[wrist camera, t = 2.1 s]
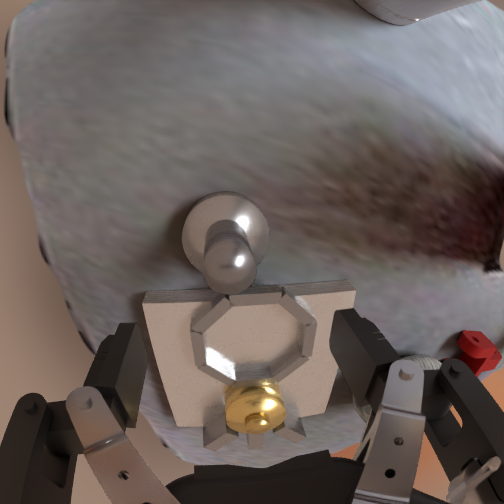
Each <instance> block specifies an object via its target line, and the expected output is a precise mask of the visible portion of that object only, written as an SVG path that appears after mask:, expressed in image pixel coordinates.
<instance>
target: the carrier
mask: <svg viewBox="0 0 504 504" xmlns="http://www.w3.org/2000/svg"><path fill="white" fill-rule="evenodd" d="M355 294H356V289H355V288H354V287H353V286H352V285H351V284H350V282H349V281H348V280H339V281H327V282H315V283H302V284H288V285H263V286H249V287H248V288H247V289H246V290H244V291H242V292H240V293H237V294H222V293H218V292H216V291H214V290H213V289H197V290H169V291H147V292H146V294H145V297H144V300H143V303H142V305H143V310H144V314H145V319H146V323H147V327H148V331H149V335H150V339H151V343H152V347H153V351H154V354H155V358H156V362H157V365H158V369H159V372H160V376H161V379H162V382H163V385H164V389H165V392H166V395H167V398H168V401H169V404H170V407H171V410H172V413H173V416H174V418H175V421H176V424H177V426H187V427H190V426H204V427H203V446H204V448H207V449H210V450H213V451H216V450H218V449H219V448H221V447H223V446H224V445H226V444H228V443H229V442H231V441H233V440H234V439H236V438H237V437H239V435H238V432H241V433H246V434H247V441H248V447H249V449H259V448H263V434H264V433H265V432H267V431H269V430H271V429H273V433H274V434H276V435H279V436H281V437H283V438H285V439H288V440H290V441H292V442H294V443H296V442H298V441H300V440H302V439H304V438H306V434H305V431H304V428H303V425H302V421H301V418H299V417H305V416H310V415H316V414H321V413H325V410H326V406H327V403H328V400H329V397H330V394H331V391H332V387H333V384H334V380H335V377H336V374H337V370H338V365H337V363H336V361H335V359H334V357H333V355H332V353H331V351H330V347H329V338H330V332H331V327H332V321H333V316H334V312H335V311H336V310H341V309H348V308H353V304H354V299H355Z"/></svg>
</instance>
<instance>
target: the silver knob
mask: <svg viewBox="0 0 504 504" xmlns="http://www.w3.org/2000/svg"><path fill="white" fill-rule="evenodd" d="M269 240H270V232H269V227H268V224H267V221H266V219H265V217H264V215H263V214H262V212H261V211H260V209H259V208H258V206H257V205H256V204H255V203H254V202H253V201H252V200H251V199H249V198H248V197H246V196H244V195H242V194H239V193H236V192H230V191H222V192H216V193H212V194H209V195H207V196H205V197H203V198H202V199H200V200H199V201H198V202H197V203H196V204H195V205H194V206H193V207H192V208H191V210H190V212H189V213H188V215H187V218H186V221H185V224H184V227H183V231H182V245H183V249H184V252H185V254H186V256H187V258H188V260H189V261H190V262H191V264H192V265H193V266H194V267H195V268H196V269H198V270H199V271H200V272H202V273H203V276H204V279H205V281H206V283H207V284H208V286H209V287H210V288H212V289H213V290H214V291H216V292H218V293H222V294H237V293H240V292H242V291H244V290H246V289H247V288H248V287H249V286H250V285H251V284H252V283H253V281H254V279H255V277H256V271H257V268H256V266H257V265H258V264H259V263H260V262H261V261H262V259H263V258H264V256H265V254H266V252H267V249H268V246H269Z"/></svg>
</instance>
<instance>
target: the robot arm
mask: <svg viewBox="0 0 504 504" xmlns="http://www.w3.org/2000/svg"><path fill="white" fill-rule="evenodd" d="M355 1H356V2H357V3H358V4H359V5H360V6H361V7H362V8H364V9H365V10H366V11H368V12H369V13H370V14H372V15H374V16H376V17H377V18H379V19H381V20H384V21H386V22H388V23H392V24H396V25H409V24H412V23H415V22H417V21H420V20H422V19H425V18H428V17H430V16H433V15H436V14H439V13H442V12H445V11H448V10H451V9H454V8H457V7H461V6H464V5H467V4H471V3H475V2H478V1H482V0H355ZM329 347H330V351H331V353H332V355H333V357H334V359H335V361H336V363H337V365H338V367H339V369H340V370H341V372H342V374H343V376H344V378H345V380H346V382H347V384H348V386H349V388H350V390H351V392H352V393H353V395H354V397H355V399H356V401H357V403H358V405H359V407H364V406H368V405H370V406H371V408H372V410H371V412H370V414H369V418H368V421H367V424H366V427H365V430H364V433H363V436H362V438H361V441H360V444H359V447H358V449H357V451H356V453H355V455H354V458H353V459H352V460H351V459H347V458H341V457H331V456H330V453H329V450H324V451H319V452H315V453H310V454H305V455H300V456H296V457H294V458H291V459H289V460H286V461H284V462H281V463H278V464H276V465H273V466H270V467H267V468H252V467H243V466H235V465H228V464H227V465H200V466H194V474H190V475H186V476H183V477H181V478H178V479H176V480H174V481H172V482H171V483H169V484H168V485H166V486H164V484H163V483H162V482H161V481H160V480H159V478H158V477H157V476H156V475H155V474H154V473H153V471H152V470H151V468H150V467H149V466H148V465H147V463H146V462H145V461H144V459H143V458H142V457H141V455H140V454H139V453H138V451H137V450H136V448H135V447H134V446H133V444H132V443H131V441H130V440H129V438H128V437H127V435H126V434H125V430H126V427H128V428H136V422H137V416H138V410H139V405H140V400H141V394H142V389H143V384H144V379H145V374H146V370H147V363H148V359H147V352H146V348H145V344H144V341H143V337H142V333H141V329H140V326H139V324H138V323H120V324H119V325H118V328H117V330H116V333H115V335H108V336H107V337H106V338H105V339H104V340H103V341H102V342H101V344H100V346H99V348H98V351H97V353H96V355H95V358H94V361H93V363H92V365H91V367H90V370H89V372H88V375H87V377H86V380H85V382H84V385H83V387H79V388H77V389H75V390H73V391H72V392H71V393H70V394H69V395H68V397H67V399H66V400H65V401H58V402H49V403H47V402H46V400H45V399H44V397H43V396H42V395H40V394H37V393H29V394H26V395H24V396H23V397H21V398H20V399H19V401H18V402H17V404H16V406H15V409H14V411H13V414H12V416H11V418H10V421H9V424H8V426H7V429H6V431H5V434H4V437H3V440H2V443H1V446H0V504H71V495H72V487H73V480H74V473H75V467H76V461H77V456H78V454H84V456H85V458H86V460H87V462H88V464H89V466H90V467H91V469H92V471H93V473H94V475H95V477H96V478H97V480H98V482H99V483H100V485H101V487H102V488H103V490H104V492H105V493H106V495H107V496H108V498H109V499H110V501H111V503H112V504H504V412H503V411H502V409H501V408H500V407H499V405H498V404H497V403H496V401H495V400H494V399H493V397H492V396H491V395H490V393H489V392H488V391H487V389H486V388H485V387H484V386H483V384H482V383H481V382H480V380H479V379H478V378H477V377H476V375H475V374H474V373H473V372H472V371H471V369H470V368H469V367H468V366H467V365H466V364H465V363H464V362H463V361H461V360H458V359H454V358H450V359H446V360H445V361H443V363H442V364H441V366H440V368H439V369H435V370H423V369H422V368H421V366H420V365H418V364H417V363H415V362H413V361H410V360H404V359H403V360H402V359H401V357H400V356H399V355H398V354H397V352H396V351H395V350H394V348H393V347H392V346H391V344H390V343H389V342H388V341H387V339H385V337H384V336H383V334H382V333H380V330H379V329H378V328H377V327H376V325H375V324H374V323H372V322H371V321H369V320H367V319H366V318H361V317H360V316H359V314H358V313H357V312H356V311H355V309H353V308H348V309H341V310H336V311H335V312H334V316H333V321H332V327H331V332H330V338H329ZM452 405H453V406H454V408H455V409H456V411H457V412H458V414H459V415H460V417H461V419H462V423H463V424H462V428H461V426H460V425H459V423H458V422H457V420H456V418H455V417H454V415H453V414H452V412H451V411H450V408H451V406H452ZM424 432H425V434H426V436H427V437H428V440H429V442H430V443H431V445H432V447H433V449H434V451H435V453H436V455H437V457H438V459H439V461H440V463H441V465H442V467H443V468H444V471H445V473H446V475H447V477H448V479H449V481H450V485H449V489H448V495H447V497H446V500H447V502H445V501H443V500H440V499H438V498H435V497H433V496H430V495H428V494H425V493H423V492H420V491H418V490H416V489H414V488H413V484H414V480H415V476H416V471H417V467H418V462H419V457H420V452H421V446H422V440H423V434H424Z"/></svg>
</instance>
